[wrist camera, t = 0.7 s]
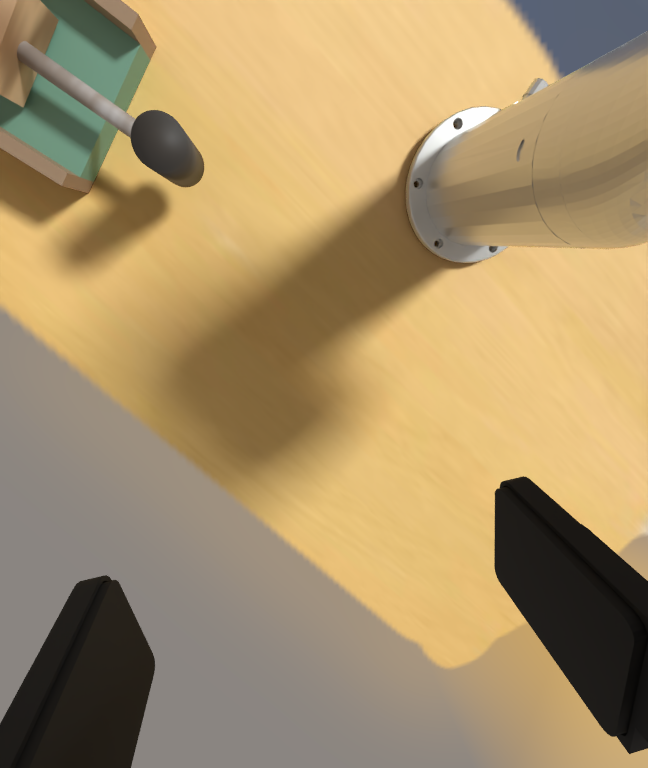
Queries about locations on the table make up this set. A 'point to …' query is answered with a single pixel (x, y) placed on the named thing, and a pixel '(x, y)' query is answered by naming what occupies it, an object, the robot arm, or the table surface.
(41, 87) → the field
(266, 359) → the table surface
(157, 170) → the striker
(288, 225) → the table surface
